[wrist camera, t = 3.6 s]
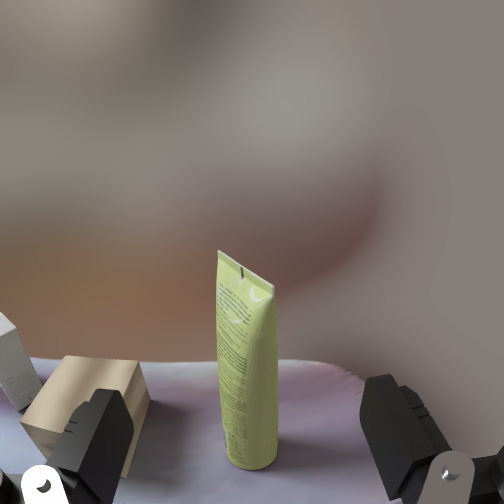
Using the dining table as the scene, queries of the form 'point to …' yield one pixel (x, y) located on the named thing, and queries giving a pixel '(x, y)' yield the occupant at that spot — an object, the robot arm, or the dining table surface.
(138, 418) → the birch block
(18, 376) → the small box
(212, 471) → the dining table surface
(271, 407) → the tube
